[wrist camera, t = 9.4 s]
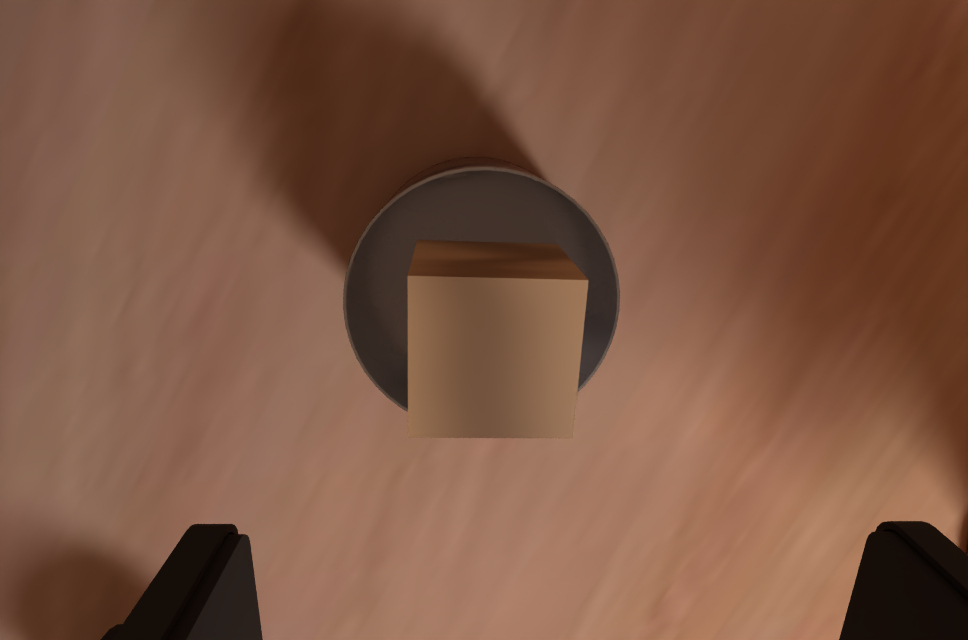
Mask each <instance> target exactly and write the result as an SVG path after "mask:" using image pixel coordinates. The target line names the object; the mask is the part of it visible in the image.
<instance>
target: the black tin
mask: <svg viewBox="0 0 968 640" xmlns="http://www.w3.org/2000/svg"><path fill="white" fill-rule="evenodd" d="M417 240H439V241H475V242H510V243H545V244H558V245H559V246H560V247H561V248H562V250H563V251H564V252H565V253H566V254H567V255H568V257H569V258H570V259H571V260H572V261H573V262H574V264H575V265H576V266H577V267H578V268H579V270H580V271H581V272H582V273H583V274H584V275H585V277H586V278H587V279H588V280H589V281H588V291H587V301H586V311H585V321H584V331H583V341H582V351H581V361H580V371H579V380H578V390H577V393H578V392H579V391H580V390H581V389H582V388H583V387H584V386H585V385H586V383H587V382H588V381H589V380H590V378H591V377H592V376H593V375H594V374H595V372H596V371H597V369H598V367H599V366H600V364H601V363H602V361H603V359H604V358H605V356H606V353H607V351H608V349H609V347H610V345H611V342H612V339H613V336H614V333H615V330H616V326H617V320H618V314H619V302H620V290H619V280H618V273H617V269H616V265H615V261H614V258H613V255H612V253H611V250H610V248H609V245H608V243H607V241H606V239H605V237H604V236H603V234H602V232H601V230H600V229H599V227H598V226H597V224H596V223H595V222H594V220H593V219H592V218H591V216H590V215H589V214H588V213H587V212H586V211H585V210H584V209H583V208H582V207H581V206H580V205H579V204H578V203H577V202H576V201H575V200H574V199H573V198H571V197H570V196H569V195H567V194H566V193H565V192H563V191H562V190H560V189H559V188H558V187H556V186H554V185H552V184H550V183H549V182H547V181H545V180H543V179H541V178H539V177H537V176H535V175H534V174H532V173H531V172H529V171H527V170H525V169H523V168H522V167H520V166H517V165H514V164H512V163H509V162H506V161H502V160H498V159H494V158H484V157H465V158H458V159H453V160H448V161H445V162H442V163H439V164H436V165H434V166H432V167H430V168H428V169H426V170H424V171H422V172H420V173H419V174H417V175H416V176H414V177H413V178H411V179H410V180H409V181H408V182H407V183H405V184H404V185H403V186H402V187H401V188H400V189H399V190H398V191H397V192H396V194H395V195H394V196H393V197H392V198H391V199H390V201H389V202H388V203H387V204H386V205H385V206H384V207H383V208H382V209H381V210H380V211H379V212H378V214H377V215H376V216H375V217H374V218H373V219H372V221H371V222H370V223H369V225H368V226H367V228H366V229H365V231H364V232H363V234H362V236H361V237H360V239H359V241H358V243H357V245H356V247H355V249H354V251H353V254H352V256H351V259H350V262H349V266H348V269H347V272H346V278H345V285H344V293H343V310H344V318H345V326H346V329H347V333H348V337H349V340H350V343H351V346H352V348H353V351H354V353H355V355H356V358H357V359H358V361H359V363H360V365H361V366H362V368H363V370H364V371H365V373H366V374H367V375H368V377H369V378H370V379H371V381H372V382H373V383H374V384H375V386H376V387H377V388H378V389H379V390H380V391H381V392H382V393H383V394H384V395H385V396H386V397H387V398H389V399H390V400H391V401H393V402H394V403H395V404H397V405H398V406H399V407H401V408H402V409H404V410H406V411H407V412H408V272H409V269H410V265H411V261H412V258H413V254H414V250H415V246H416V243H417Z"/></svg>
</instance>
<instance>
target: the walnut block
mask: <svg viewBox="0 0 968 640" xmlns="http://www.w3.org/2000/svg"><path fill="white" fill-rule="evenodd" d="M588 281H589V280H588V279H587V278H586V277H585V275H584V274H583V273H582V272H581V271H580V270H579V268H578V267H577V266H576V265H575V264H574V262H573V261H572V260H571V259H570V258H569V257H568V255H567V254H566V253H565V252H564V251H563V250H562V248H561V247H560V246H559V245H558V244H545V243H510V242H475V241H439V240H417V243H416V246H415V250H414V254H413V258H412V261H411V265H410V269H409V272H408V437H429V438H573V430H574V420H575V410H576V400H577V390H578V380H579V371H580V361H581V351H582V341H583V331H584V321H585V311H586V301H587V291H588Z"/></svg>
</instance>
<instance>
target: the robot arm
mask: <svg viewBox="0 0 968 640" xmlns="http://www.w3.org/2000/svg"><path fill="white" fill-rule="evenodd" d="M101 640H263V639H262V631H261V624H260V616H259V608H258V600H257V592H256V585H255V577H254V569H253V561H252V553H251V546H250V540H249V537H248V535H245V534H238V530H237V528H236V526H235V525H233V524H194V525H192V526H190V527H189V529H188V530H187V531H186V532H185V534H184V535H183V537H182V538H181V540H180V541H179V542H178V544H177V545H176V547H175V548H174V550H173V551H172V553H171V554H170V556H169V557H168V559H167V560H166V562H165V563H164V565H163V566H162V567H161V569H160V570H159V572H158V573H157V575H156V576H155V578H154V579H153V581H152V582H151V584H150V585H149V587H148V588H147V590H146V591H145V592H144V594H143V595H142V597H141V598H140V600H139V601H138V603H137V604H136V606H135V607H134V609H133V610H132V612H131V613H130V615H129V616H128V617H127V619H126V620H125V622H124V623H123V624H118V625H116V626H114V627H113V628H111V629H110V630H109V631H108V632H107V633H106V634H105V635H104V636H103V638H102V639H101ZM839 640H968V555H967V554H965V553H964V552H963V551H962V550H961V549H960V548H958V547H957V546H956V545H955V544H954V543H953V542H951V541H950V540H949V539H948V538H947V537H946V536H944V535H943V534H942V533H941V532H940V531H939V530H937V529H936V528H935V527H934V526H932V525H931V524H929V523H926V522H922V521H887V522H882V523H881V524H880V525H879V526H878V527H877V529H876V531H875V532H872V533H871V534H869V536H868V538H867V540H866V544H865V548H864V551H863V555H862V559H861V562H860V566H859V570H858V573H857V577H856V580H855V584H854V588H853V591H852V595H851V599H850V602H849V606H848V610H847V613H846V617H845V621H844V624H843V628H842V631H841V635H840V639H839Z"/></svg>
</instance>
